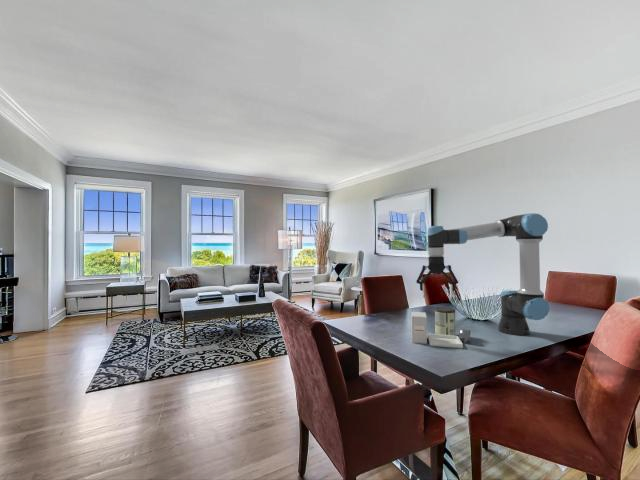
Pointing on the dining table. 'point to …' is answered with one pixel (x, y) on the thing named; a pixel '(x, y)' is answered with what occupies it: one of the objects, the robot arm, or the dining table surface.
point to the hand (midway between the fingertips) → (437, 297)
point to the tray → (445, 341)
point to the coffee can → (444, 321)
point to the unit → (419, 327)
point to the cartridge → (464, 336)
